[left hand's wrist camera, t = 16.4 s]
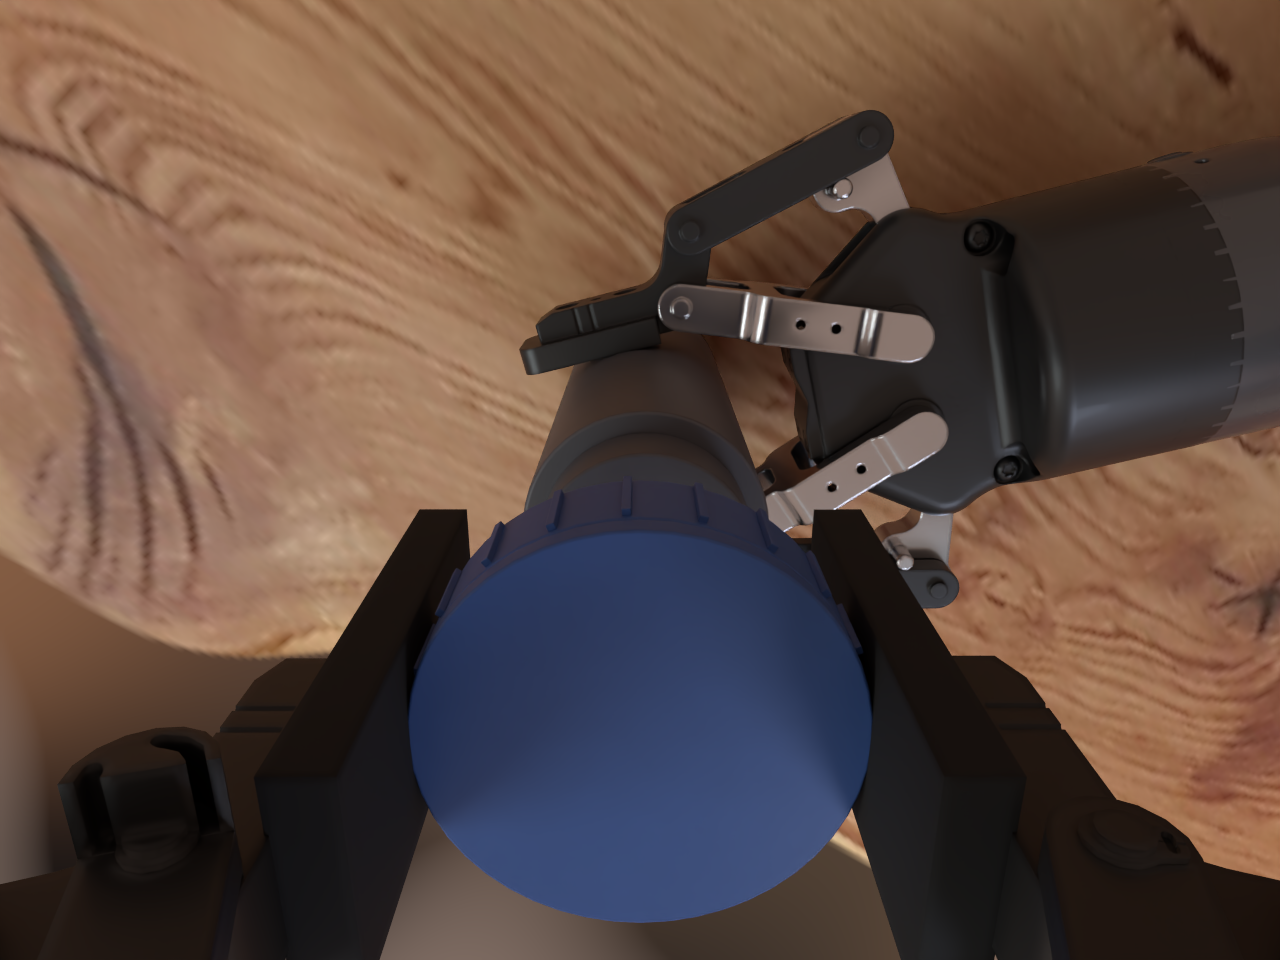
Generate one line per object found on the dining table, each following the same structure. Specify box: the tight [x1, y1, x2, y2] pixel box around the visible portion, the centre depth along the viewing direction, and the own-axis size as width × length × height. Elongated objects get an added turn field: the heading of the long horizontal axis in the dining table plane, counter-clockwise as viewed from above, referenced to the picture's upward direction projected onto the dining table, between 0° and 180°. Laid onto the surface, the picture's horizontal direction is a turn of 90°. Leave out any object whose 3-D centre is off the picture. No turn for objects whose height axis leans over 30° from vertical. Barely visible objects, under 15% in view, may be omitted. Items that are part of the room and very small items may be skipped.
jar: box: [524, 331, 769, 518], centre depth 24 cm, size 5×5×15 cm
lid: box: [408, 476, 873, 923], centre depth 11 cm, size 6×6×2 cm
